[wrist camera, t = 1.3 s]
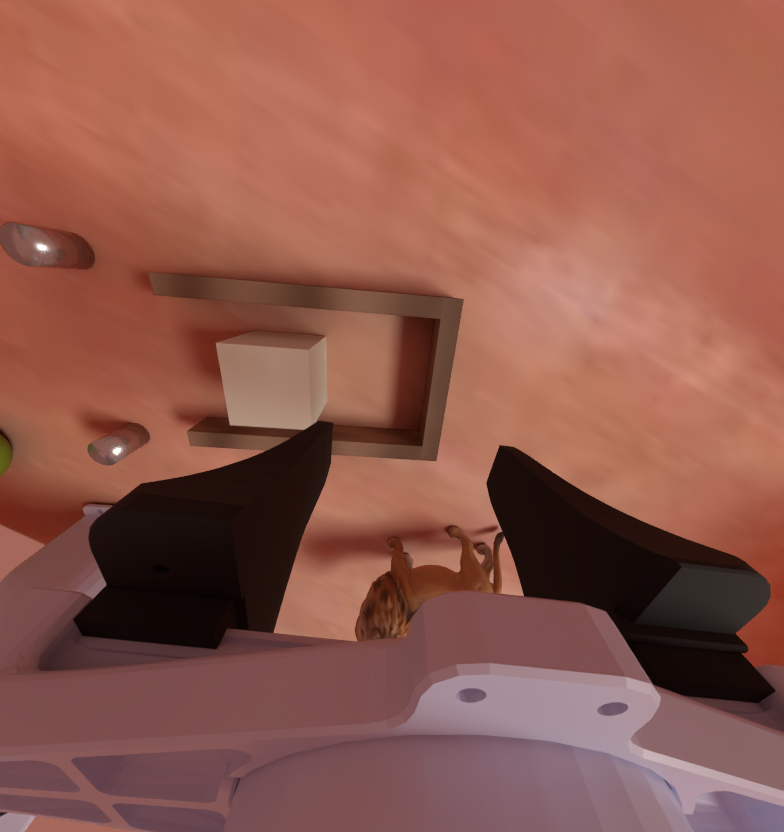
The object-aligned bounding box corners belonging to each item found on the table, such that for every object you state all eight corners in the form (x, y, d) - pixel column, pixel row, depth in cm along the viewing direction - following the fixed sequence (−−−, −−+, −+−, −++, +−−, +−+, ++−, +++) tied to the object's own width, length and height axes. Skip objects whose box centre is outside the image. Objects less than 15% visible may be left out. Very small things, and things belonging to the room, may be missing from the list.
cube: (262, 396, 22) (229, 425, 17) (255, 330, 20) (215, 342, 15) (327, 401, 22) (311, 430, 18) (326, 335, 20) (308, 349, 16)
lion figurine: (372, 578, 31) (366, 684, 22) (353, 545, 29) (339, 648, 20) (507, 544, 29) (555, 647, 21) (497, 506, 27) (546, 603, 18)
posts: (127, 443, 23) (93, 464, 21) (53, 231, 17) (-9, 220, 15) (152, 445, 24) (121, 466, 21) (87, 234, 17) (31, 224, 15)
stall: (210, 430, 23) (190, 445, 21) (177, 274, 18) (147, 271, 16) (431, 444, 24) (436, 461, 22) (454, 298, 19) (463, 299, 17)
